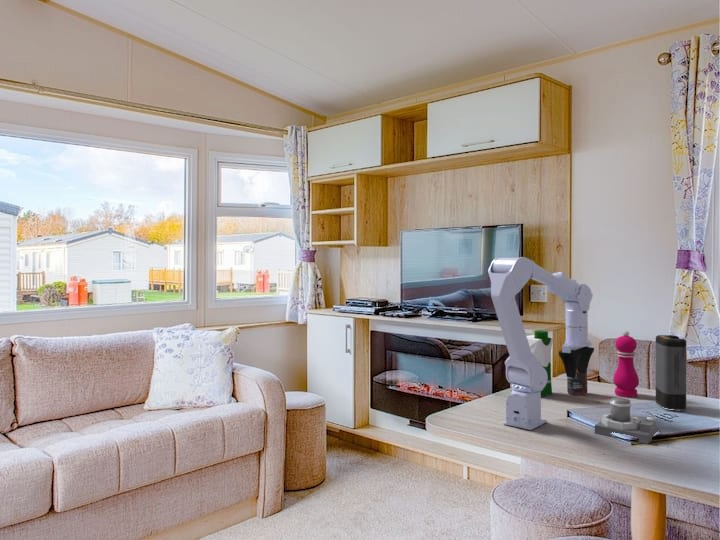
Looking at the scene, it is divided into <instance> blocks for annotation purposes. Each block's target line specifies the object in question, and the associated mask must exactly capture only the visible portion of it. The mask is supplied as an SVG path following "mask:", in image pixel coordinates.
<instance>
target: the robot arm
mask: <svg viewBox="0 0 720 540" xmlns="http://www.w3.org/2000/svg"><path fill="white" fill-rule="evenodd" d="M487 273H488V276H489V281H490V297H491V300H492V303H493V307H494V310H495V313H496V317H497V320H498V322H499V326H500V329H501V332H502V335H503V339H504V342H505V345H506V346H505V347H506V348H507V352H508V354H509V355H508V357H507V358H506V360H505V361H504V365H505V378H506V380H507V382H508V383H509V384H510V387H509V388H511V393H510V394H509V395H508V396H507V399H506V402H505V411H506V412H505V415H506V417H505V421H502V424H503V425H506V426H511V427H515V428H516V427H517V428H521V429H524V430H528V431H529V430H530V431H532V430H534V429H536V428H538V427H540V426H541V425H543V424H546V423H547V422H548V420H547V419H545V418H542V397H541V391H543V388H544V387H545V386H546V384H547V380H548V375H547V372H546V370H545V369H544V368H543V366H542V364H541V361H540V360H539V359H538V358H537V357H536V356H535V355H534V354H533V353H532V352H531V350H530V347H529V343H528V340H527V337H526V336H527V334H526V331H525V327H524V324H523V320H522V317H521V314H520V310H519V307H518V304H517V300H516V295H517V294H519V293H520V291H521V290H522V289H523V288H524V286H525V285H526V284H527V283H528V281H530V279H531V280H533V281H535V282H538V283H540V284H543V285H544V286H545V289H546V291H547V292H549V293H551V294H553V295H555V296H557V297H559V298H560V300H561V301H562V302H563V304H565V341H564V344H562V346H561V349H562V350H558V356H559V357H560V359H561V361H562V364H563V367H564V371H565V375H566V378H567V377H569V378H575V377H576V372H577V370H578V373H586V372H587V373H588V368H589V362H590V361H591V357H592V355H593V353H594V351H595V348H594V347H592V346H593V342H592V343H591V339H590V338H589V337H588V335H589V333H588V331H589V330H588V327H589V326H588V323H589V322H588V320H589V319H588V317H589V315H588V314H589V312H588V311H589V310H590V304H591V302H592V300H593V292H592V290H591V288H590V287H589V286H588V285H587V284H585V283H578V282H577V280H576V279H575V278H570V277H567V276H566V273H565V272H562V271H561V272H560V271H558V272H554V273H551V272H550V271H548V270H547V269H545V268H543V267H542V266H540V265H539V264H537V263H535V261H534V260H533V259H529V258H528V257H525V256H521V257H501V256H498V257H496V258H494V259H493V260H492V261H491V263H490V265H489V267H488V270H487ZM588 338H589V339H588Z"/></svg>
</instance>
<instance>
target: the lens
mask: <svg viewBox="0 0 720 540" xmlns="http://www.w3.org/2000/svg"><path fill="white" fill-rule="evenodd" d="M631 403H632V402H631V400H630V399H629V398H628V399H627V398H626V397H612V398H610V401H609V404H610V414H611V418H610V420H611V421H616V422H622V423H625V422H631V421H630V415H631Z"/></svg>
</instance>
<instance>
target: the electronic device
mask: <svg viewBox="0 0 720 540" xmlns="http://www.w3.org/2000/svg"><path fill="white" fill-rule="evenodd" d="M655 403H656V404H657V403H658V404H659V405H660V406H662V407H664V408H668V409H674V410H680V411H679V412H686V411H687V340H686V339H685V338H680V337H679V336H678V335H668V334H666V335H665V334H663V335H662V334H659V335H656V336H655ZM658 404H657V405H658ZM659 405H658V406H659ZM660 406H659V407H660ZM662 407H661V408H662Z"/></svg>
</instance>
